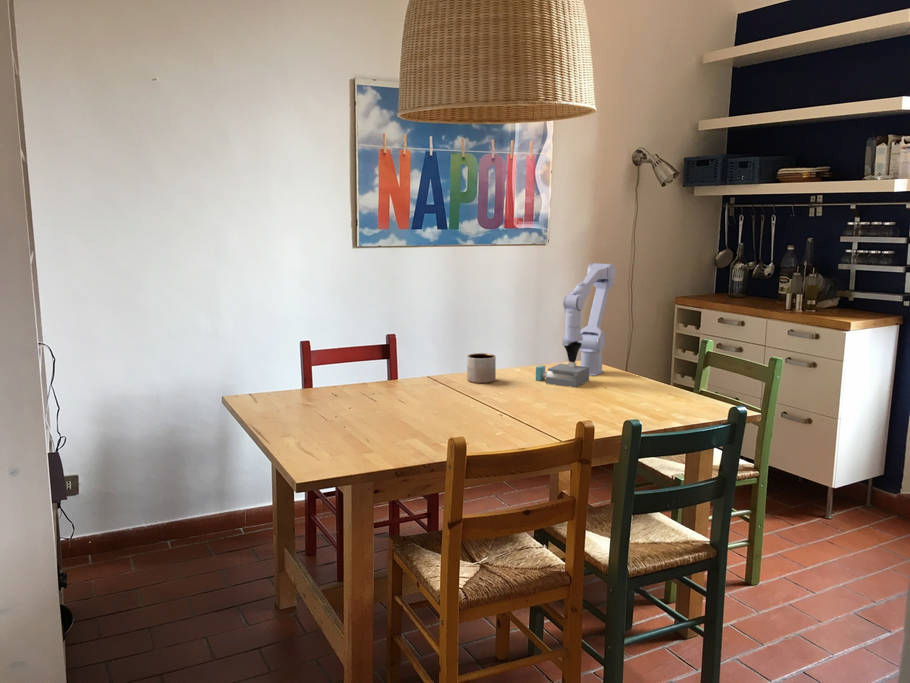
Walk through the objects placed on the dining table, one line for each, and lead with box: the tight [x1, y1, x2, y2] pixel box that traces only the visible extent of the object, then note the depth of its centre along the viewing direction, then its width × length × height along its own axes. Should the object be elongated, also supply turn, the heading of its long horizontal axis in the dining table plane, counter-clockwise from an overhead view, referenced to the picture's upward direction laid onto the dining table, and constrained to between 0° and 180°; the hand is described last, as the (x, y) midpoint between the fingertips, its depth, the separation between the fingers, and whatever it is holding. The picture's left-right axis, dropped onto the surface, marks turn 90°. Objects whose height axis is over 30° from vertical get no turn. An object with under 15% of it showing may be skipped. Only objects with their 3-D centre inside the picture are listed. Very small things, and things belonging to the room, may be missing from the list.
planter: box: [466, 352, 497, 384], centre depth 300 cm, size 11×11×10 cm
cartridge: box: [535, 364, 574, 382], centre depth 298 cm, size 4×16×5 cm, turn 58°
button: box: [567, 361, 577, 368], centre depth 300 cm, size 2×2×2 cm
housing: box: [545, 363, 590, 388], centre depth 298 cm, size 12×12×5 cm
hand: (572, 361), depth 300 cm, fingers closed
